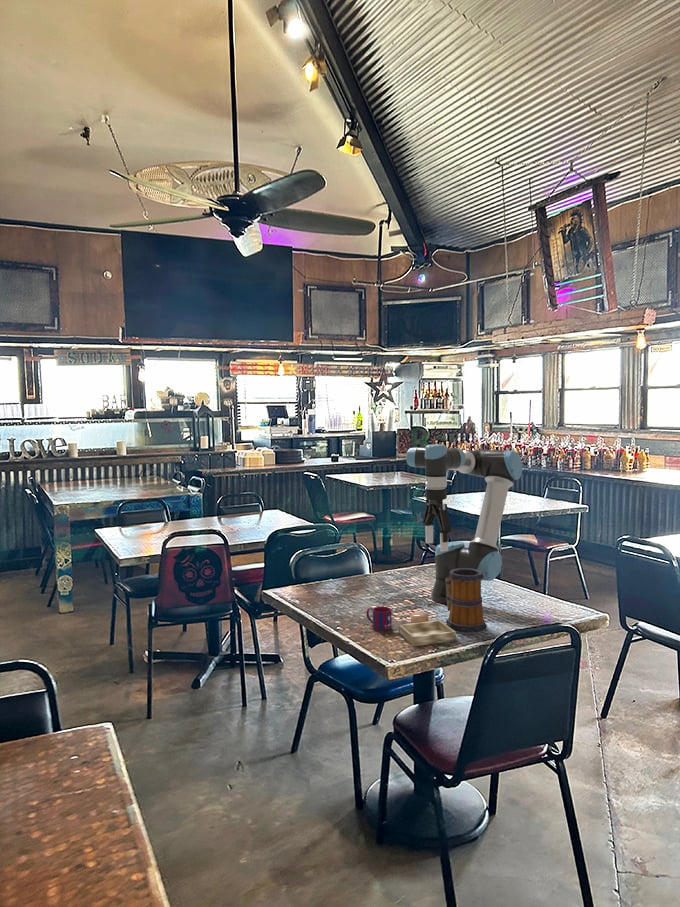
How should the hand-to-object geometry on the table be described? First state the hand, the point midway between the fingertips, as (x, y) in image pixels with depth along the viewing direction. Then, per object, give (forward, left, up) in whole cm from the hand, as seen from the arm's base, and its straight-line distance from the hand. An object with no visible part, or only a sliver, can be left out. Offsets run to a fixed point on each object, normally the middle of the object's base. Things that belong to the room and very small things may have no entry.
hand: (436, 547), depth 227 cm
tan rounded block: (+6, -3, -29) cm, 29 cm away
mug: (-8, +3, -29) cm, 30 cm away
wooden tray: (+9, +10, -28) cm, 31 cm away
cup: (+21, -5, -29) cm, 36 cm away
